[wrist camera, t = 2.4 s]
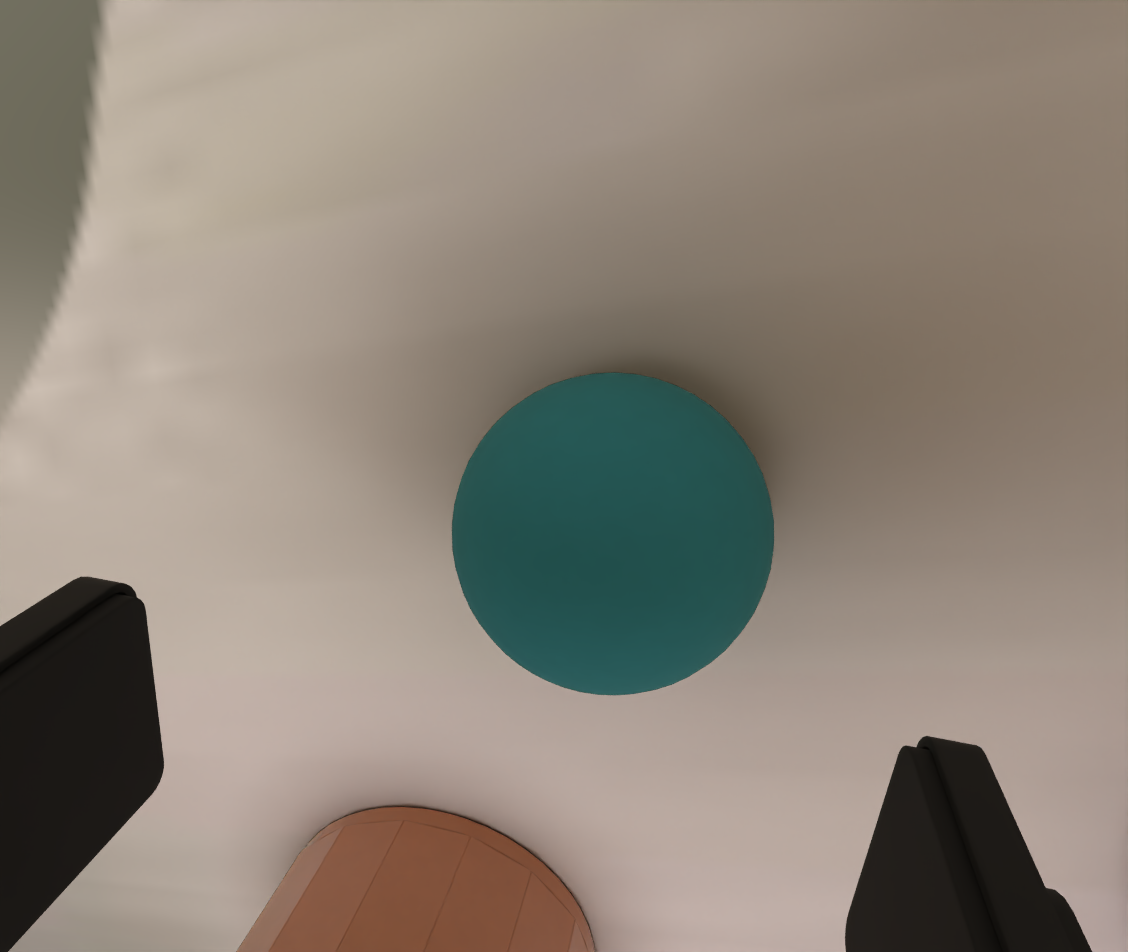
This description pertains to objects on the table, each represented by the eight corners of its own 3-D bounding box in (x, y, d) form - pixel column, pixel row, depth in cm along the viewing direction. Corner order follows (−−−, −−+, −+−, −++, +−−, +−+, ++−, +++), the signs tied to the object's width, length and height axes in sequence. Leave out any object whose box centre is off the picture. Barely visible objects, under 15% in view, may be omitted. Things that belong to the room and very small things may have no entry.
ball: (794, 363, 16) (820, 465, 11) (742, 614, 19) (743, 803, 13) (510, 325, 17) (403, 400, 12) (494, 568, 19) (398, 726, 14)
